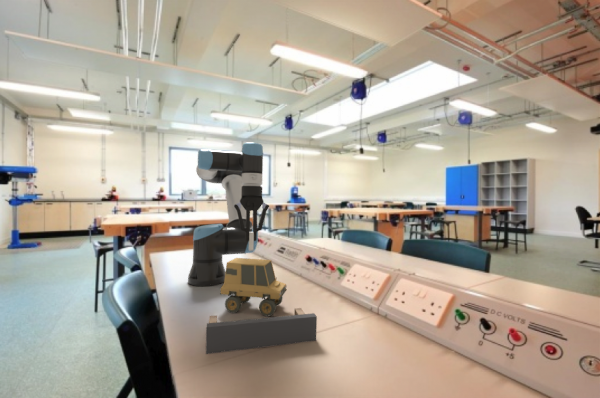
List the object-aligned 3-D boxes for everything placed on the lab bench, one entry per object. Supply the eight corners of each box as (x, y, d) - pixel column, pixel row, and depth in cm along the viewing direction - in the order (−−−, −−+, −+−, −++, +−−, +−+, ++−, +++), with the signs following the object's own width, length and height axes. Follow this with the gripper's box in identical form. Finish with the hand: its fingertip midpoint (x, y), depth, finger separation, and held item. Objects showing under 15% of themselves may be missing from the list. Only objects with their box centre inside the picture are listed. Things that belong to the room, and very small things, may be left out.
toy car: (278, 318, 81) (279, 267, 81) (218, 312, 85) (219, 263, 85) (286, 305, 92) (287, 259, 91) (232, 300, 95) (233, 256, 95)
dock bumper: (206, 348, 65) (207, 322, 65) (313, 335, 71) (313, 312, 71) (205, 354, 62) (206, 327, 62) (316, 340, 69) (316, 316, 69)
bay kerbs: (209, 325, 76) (209, 316, 76) (300, 316, 83) (301, 307, 83) (206, 349, 64) (206, 338, 64) (313, 336, 71) (313, 326, 71)
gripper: (234, 184, 97) (233, 252, 97) (271, 185, 100) (270, 251, 100) (233, 185, 104) (232, 248, 104) (268, 186, 107) (267, 247, 107)
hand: (251, 249), depth 102 cm, fingers closed
